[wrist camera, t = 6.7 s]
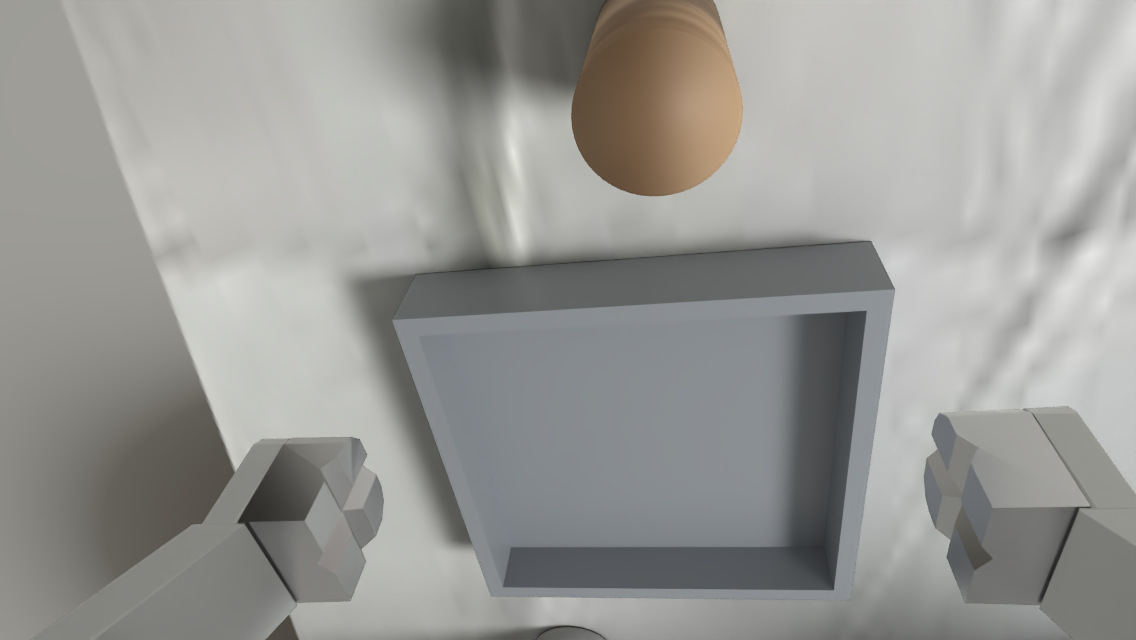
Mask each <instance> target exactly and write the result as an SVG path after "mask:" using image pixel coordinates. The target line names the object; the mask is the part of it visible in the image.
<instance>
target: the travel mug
mask: <svg viewBox="0 0 1136 640" xmlns="http://www.w3.org/2000/svg"><path fill="white" fill-rule="evenodd" d="M537 640H606V639H604V638H603V637H602V636H600V635H598V634H596V633H594V632H592V631H589V630H586V629H582V628H576V627H560V628H555V629H551V630H548V631H546V632H544V633H543V634H541V635H540V636H539V637H538V638H537Z"/></svg>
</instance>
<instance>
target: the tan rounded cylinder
mask: <svg viewBox="0 0 1136 640" xmlns="http://www.w3.org/2000/svg"><path fill="white" fill-rule="evenodd" d="M742 115H743V105H742V96H741V91H740V87H739V83H738V80H737V76H736V73H735V69H734V66H733V62H732V59H731V55H730V52H729V48H728V45H727V41H726V38H725V34H724V31H723V27H722V24H721V20H720V17H719V13H718V11H717V8H716V5H715V3H714V2H713V0H606V1H605V3H604V4H603V6H602V9H601V11H600V13H599V16H598V19H597V22H596V25H595V28H594V32H593V35H592V38H591V41H590V45H589V48H588V51H587V54H586V58H585V61H584V64H583V67H582V71H581V74H580V77H579V80H578V84H577V87H576V90H575V93H574V98H573V103H572V114H571V119H572V129H573V133H574V138H575V141H576V144H577V146H578V149H579V151H580V153H581V154H582V156H583V158H584V159H585V161H586V162H587V164H588V165H589V166H590V167H591V169H592V170H593V171H594V172H595V173H596V174H597V175H598V176H600V177H601V178H602V179H603V180H605V181H606V182H608V183H609V184H611V185H612V186H614V187H617V188H619V189H621V190H623V191H626V192H629V193H633V194H637V195H643V196H665V195H671V194H675V193H679V192H683V191H685V190H688V189H690V188H693V187H694V186H696V185H698V184H700V183H702V182H703V181H704V180H706V179H707V178H709V177H710V176H711V175H712V174H713V173H715V172H716V171H717V170H718V169H719V168H720V167H721V165H722V164H723V163H724V162H725V161H726V159H727V158H728V156H729V155H730V153H731V152H732V150H733V148H734V146H735V144H736V142H737V139H738V136H739V133H740V129H741V124H742Z"/></svg>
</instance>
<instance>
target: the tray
mask: <svg viewBox="0 0 1136 640" xmlns="http://www.w3.org/2000/svg"><path fill="white" fill-rule="evenodd" d="M894 293H895V288H894V286H893V284H892V282H891V280H890V278H889V276H888V274H887V272H886V270H885V268H884V266H883V264H882V262H881V260H880V258H879V256H878V254H877V252H876V250H875V248H874V246H873V244H872V242H871V241H869V242H855V243H841V244H827V245H814V246H800V247H786V248H772V249H759V250H745V251H731V252H717V253H703V254H690V255H676V256H662V257H648V258H635V259H621V260H607V261H593V262H580V263H566V264H552V265H538V266H525V267H511V268H497V269H483V270H470V271H456V272H442V273H428V274H416V276H415V277H414V279H413V281H412V283H411V285H410V287H409V289H408V291H407V292H406V294H405V296H404V298H403V300H402V302H401V304H400V306H399V308H398V309H397V311H396V313H395V315H394V317H393V319H392V322H393V325H394V327H395V330H396V333H397V336H398V339H399V341H400V344H401V347H402V350H403V353H404V355H405V358H406V361H407V364H408V366H409V369H410V372H411V375H412V378H413V380H414V383H415V386H416V389H417V392H418V394H419V397H420V400H421V403H422V406H423V408H424V411H425V414H426V417H427V419H428V422H429V425H430V428H431V431H432V433H433V436H434V439H435V442H436V445H437V447H438V450H439V453H440V456H441V458H442V461H443V464H444V467H445V470H446V472H447V475H448V478H449V481H450V484H451V486H452V489H453V492H454V495H455V498H456V500H457V503H458V506H459V509H460V511H461V514H462V517H463V520H464V523H465V525H466V528H467V531H468V534H469V537H470V539H471V542H472V545H473V548H474V551H475V553H476V556H477V559H478V562H479V564H480V567H481V570H482V573H483V576H484V578H485V581H486V584H487V587H488V590H489V592H490V595H491V596H493V597H582V598H671V599H760V600H850V601H851V594H852V587H853V580H854V573H855V566H856V559H857V552H858V545H859V538H860V531H861V524H862V517H863V510H864V503H865V496H866V489H867V482H868V475H869V468H870V461H871V454H872V447H873V440H874V433H875V426H876V419H877V412H878V405H879V398H880V391H881V384H882V377H883V370H884V363H885V356H886V349H887V342H888V335H889V328H890V321H891V314H892V307H893V300H894Z"/></svg>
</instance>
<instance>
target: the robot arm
mask: <svg viewBox="0 0 1136 640" xmlns="http://www.w3.org/2000/svg"><path fill="white" fill-rule="evenodd" d="M932 437H933V439H934V441H935V443H936V446H937V448H938V449H937V450H936V451H935V452H934V453H933V454H931V455H930V456H929V457H928V458H927V460H926V467H925V473H924V483H925V497H926V501H927V505H928V509H929V513H930V515H931V518H932V521H933V523H934V526H935V528H936V529H937V530H938V531H940V532H941V533H942V534H944V535H945V536H946V537H948V538H949V539H950V540H951V541H950V545H949V550H948V554H947V559H948V562H949V564H950V567H951V569H952V572H953V574H954V577H955V579H956V581H957V584H958V586H959V589H960V591H961V594H962V596H963V599H964V601H965V603H983V604H1019V605H1040V608H1039V609H1041V610H1042V611H1043V612H1044V613H1045V614H1046V615H1047V616H1048V617H1049V618H1050V619H1051V620H1053V621H1054V622H1055V623H1056V624H1057V625H1058V626H1059V627H1060V628H1061V629H1062V630H1063V631H1065V632H1066V633H1067V634H1068V635H1069V636H1070V637H1071V638H1072V639H1073V640H1136V493H1135V492H1134V490H1133V489H1132V488H1131V486H1130V485H1129V483H1128V482H1127V481H1126V479H1125V478H1124V477H1123V475H1122V474H1121V472H1120V471H1119V470H1118V468H1117V467H1116V465H1115V464H1114V463H1113V461H1112V460H1111V459H1110V457H1109V456H1108V454H1107V453H1106V452H1105V450H1104V449H1103V447H1102V446H1101V445H1100V443H1099V442H1098V440H1097V439H1096V438H1095V436H1094V435H1093V434H1092V432H1091V431H1090V429H1089V428H1088V427H1087V425H1086V424H1085V422H1084V421H1083V420H1082V418H1081V417H1080V416H1079V414H1078V413H1077V411H1075V410H1073V409H1072V408H1070V407H1068V406H1064V407H1044V408H1025V409H1023V410H1021V409H1008V410H988V411H967V412H947V413H939V414H938V416H937V418H936V419H935V421H934V426H933V430H932ZM366 456H367V453H366V451H365V449H364V447H363V445H362V443H361V441H360V439H357V438H353V437H319V438H292V439H262V440H260V441H259V442H257V443H255V444H254V445H253V446H252V447H251V449H250V451H249V452H248V454H247V455H246V457H245V458H244V460H243V461H242V463H241V464H240V466H239V468H238V469H237V471H236V472H235V474H234V475H233V477H232V478H231V480H230V482H229V483H228V485H227V486H226V488H225V489H224V491H223V492H222V494H221V496H220V497H219V499H218V500H217V502H216V503H215V505H214V506H213V508H212V510H211V511H210V513H209V514H208V516H207V517H206V519H205V520H204V522H203V524H200V525H199V524H198V525H191V526H190V527H189V528H187V529H186V530H184V531H183V532H182V533H180V534H179V535H177V536H176V537H174V538H173V539H172V540H170V541H169V542H167V543H166V544H165V545H163V546H162V547H160V548H159V549H158V550H156V551H155V552H153V553H152V554H151V555H149V556H148V557H147V558H145V559H143V560H142V561H141V562H139V563H138V564H136V565H135V566H134V567H132V568H131V569H129V570H128V571H127V572H125V573H124V574H122V575H121V576H120V577H118V578H117V579H115V580H114V581H113V582H111V583H110V584H108V585H107V586H105V587H104V588H103V589H101V590H100V591H98V592H97V593H95V594H94V595H93V596H91V597H90V598H89V599H87V600H86V601H84V602H83V603H81V604H80V605H79V606H77V607H76V608H74V609H73V610H72V611H70V612H69V613H67V614H66V615H64V616H63V617H62V618H60V619H59V620H57V621H56V622H55V623H53V624H52V625H50V626H49V627H48V628H46V629H45V630H43V631H42V632H41V633H39V634H38V635H36V636H35V637H34V638H32V639H31V640H265V639H266V638H267V637H268V636H269V635H270V634H271V633H272V632H273V631H274V630H275V629H276V627H277V626H278V625H279V624H280V623H281V622H282V621H283V620H284V619H285V618H286V617H287V616H288V615H289V614H290V613H291V612H292V611H293V610H294V609H295V608H296V607H297V604H296V603H304V602H341V601H351V599H352V596H353V594H354V591H355V588H356V586H357V583H358V581H359V578H360V576H361V573H362V571H363V568H364V566H365V563H366V560H365V557H364V555H363V552H362V548H363V547H364V546H365V545H366V544H367V543H369V542H370V541H371V540H372V539H373V538H374V537H375V536H376V534H377V532H378V529H379V526H380V523H381V521H382V513H383V503H384V499H383V493H382V487H381V484H380V482H379V480H378V477H377V475H376V474H375V473H373V472H372V471H370V470H369V469H367V468H366V467H365V466H363V463H364V461H365V459H366Z"/></svg>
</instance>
